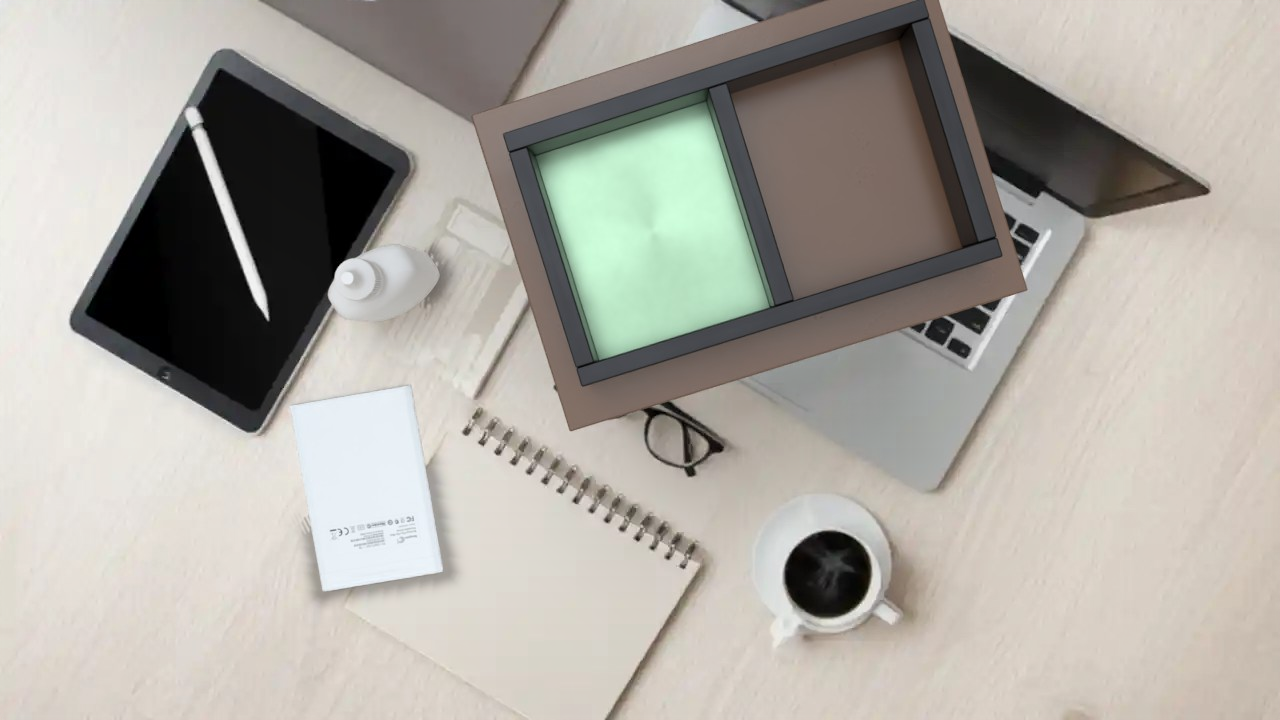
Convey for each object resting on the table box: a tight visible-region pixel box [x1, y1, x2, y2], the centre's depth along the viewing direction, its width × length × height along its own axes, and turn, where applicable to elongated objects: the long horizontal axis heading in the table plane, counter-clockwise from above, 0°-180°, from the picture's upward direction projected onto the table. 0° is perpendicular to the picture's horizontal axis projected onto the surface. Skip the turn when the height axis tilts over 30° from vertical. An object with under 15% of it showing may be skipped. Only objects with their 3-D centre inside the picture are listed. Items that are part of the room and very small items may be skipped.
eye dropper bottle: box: [327, 243, 441, 323], centre depth 67 cm, size 4×6×12 cm
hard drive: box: [289, 384, 444, 592], centre depth 72 cm, size 2×8×12 cm
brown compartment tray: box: [471, 0, 1028, 432], centre depth 45 cm, size 14×20×4 cm
